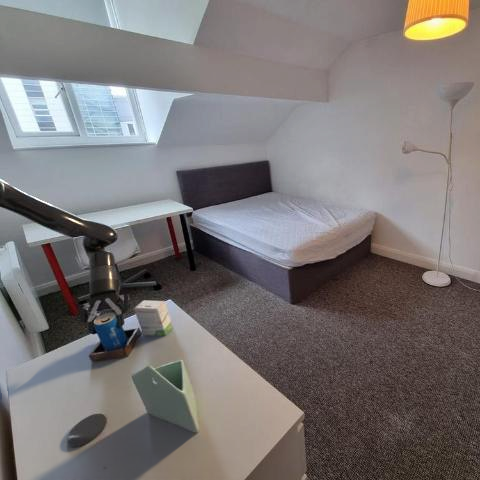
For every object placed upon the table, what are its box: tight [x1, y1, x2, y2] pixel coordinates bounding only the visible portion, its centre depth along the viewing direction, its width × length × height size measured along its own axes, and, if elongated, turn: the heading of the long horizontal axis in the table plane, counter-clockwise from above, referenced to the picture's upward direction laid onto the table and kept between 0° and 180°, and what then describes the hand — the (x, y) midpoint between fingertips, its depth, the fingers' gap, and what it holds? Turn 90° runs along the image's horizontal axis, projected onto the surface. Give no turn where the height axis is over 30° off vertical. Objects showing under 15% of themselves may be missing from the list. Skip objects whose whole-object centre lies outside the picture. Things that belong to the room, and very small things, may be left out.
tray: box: [88, 326, 143, 363], centre depth 90 cm, size 11×11×3 cm
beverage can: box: [94, 312, 129, 351], centre depth 88 cm, size 6×6×12 cm
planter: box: [131, 359, 200, 434], centre depth 67 cm, size 16×8×20 cm, turn 71°
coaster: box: [66, 413, 108, 448], centre depth 66 cm, size 8×8×1 cm
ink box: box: [133, 299, 173, 337], centre depth 95 cm, size 9×5×12 cm, turn 86°
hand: (107, 330), depth 86 cm, fingers closed on beverage can, 6 cm apart
